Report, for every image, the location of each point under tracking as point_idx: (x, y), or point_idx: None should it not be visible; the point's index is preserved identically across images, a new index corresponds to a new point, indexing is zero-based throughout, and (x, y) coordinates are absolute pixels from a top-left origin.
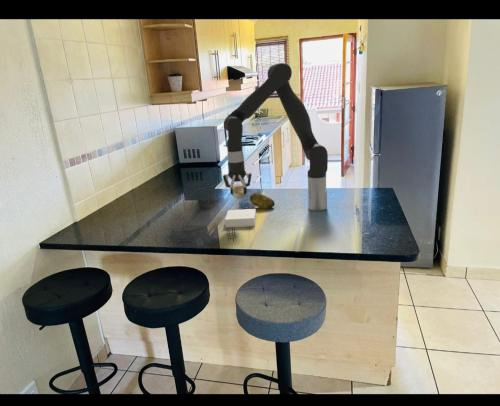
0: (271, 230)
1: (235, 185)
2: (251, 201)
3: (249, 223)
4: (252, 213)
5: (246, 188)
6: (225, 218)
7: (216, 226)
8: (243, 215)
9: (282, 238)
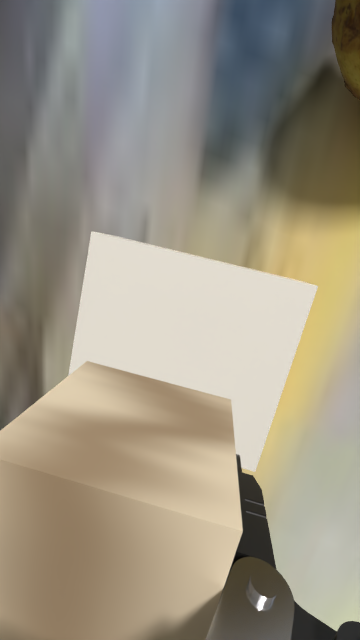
0: (322, 527)
1: (19, 549)
2: (338, 50)
3: None
4: (265, 380)
5: (265, 558)
6: None
7: (35, 357)
8: None
9: None
